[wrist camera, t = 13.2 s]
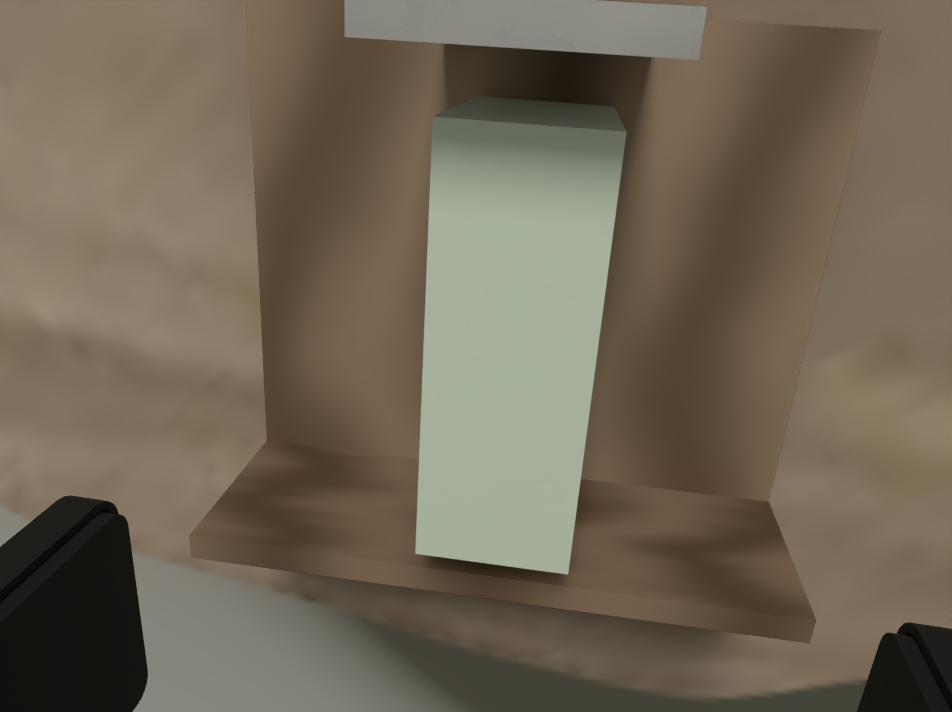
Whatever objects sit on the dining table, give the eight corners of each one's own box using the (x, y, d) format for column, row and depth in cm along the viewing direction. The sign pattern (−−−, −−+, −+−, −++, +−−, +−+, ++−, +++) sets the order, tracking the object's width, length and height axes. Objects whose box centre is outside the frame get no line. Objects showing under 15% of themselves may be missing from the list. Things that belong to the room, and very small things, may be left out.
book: (614, 106, 23) (626, 131, 16) (572, 438, 27) (568, 574, 20) (479, 96, 23) (432, 116, 16) (459, 425, 27) (415, 554, 20)
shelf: (862, 31, 22) (1111, 16, 12) (754, 502, 28) (853, 773, 18) (264, -5, 24) (12, -46, 14) (282, 445, 30) (117, 659, 20)
